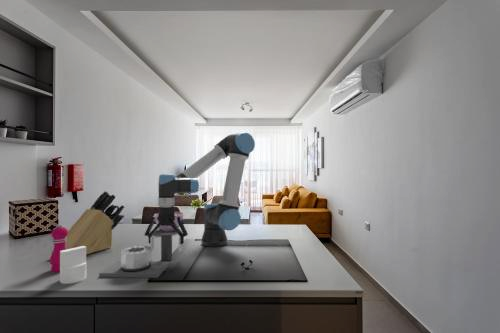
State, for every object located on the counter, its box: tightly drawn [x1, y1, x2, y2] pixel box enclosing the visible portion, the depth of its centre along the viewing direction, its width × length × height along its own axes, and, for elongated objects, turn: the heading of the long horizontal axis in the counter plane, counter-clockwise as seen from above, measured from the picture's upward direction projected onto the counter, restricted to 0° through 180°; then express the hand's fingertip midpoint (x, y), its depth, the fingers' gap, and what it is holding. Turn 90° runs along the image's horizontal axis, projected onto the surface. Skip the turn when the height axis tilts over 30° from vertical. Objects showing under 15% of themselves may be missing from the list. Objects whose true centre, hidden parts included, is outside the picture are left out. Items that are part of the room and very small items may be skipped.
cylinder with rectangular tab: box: [59, 246, 88, 285], centre depth 113 cm, size 9×9×12 cm
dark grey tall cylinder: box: [160, 232, 173, 262], centre depth 137 cm, size 5×5×12 cm
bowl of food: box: [153, 211, 184, 233], centre depth 201 cm, size 20×20×12 cm
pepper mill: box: [49, 223, 69, 273], centre depth 124 cm, size 7×7×20 cm
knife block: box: [50, 190, 125, 255], centre depth 152 cm, size 11×35×31 cm, turn 155°
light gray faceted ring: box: [120, 245, 153, 272], centre depth 122 cm, size 12×12×8 cm
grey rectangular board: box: [98, 260, 171, 279], centre depth 122 cm, size 24×15×2 cm, turn 87°
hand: (166, 250), depth 137 cm, fingers open, 13 cm apart
